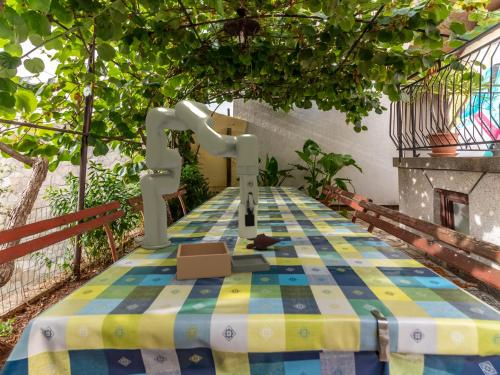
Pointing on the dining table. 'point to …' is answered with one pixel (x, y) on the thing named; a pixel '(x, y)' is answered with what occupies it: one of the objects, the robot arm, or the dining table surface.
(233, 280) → the dining table surface
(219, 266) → the brown square frame
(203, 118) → the robot arm
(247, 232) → the can
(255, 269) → the tray
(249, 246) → the icecream
